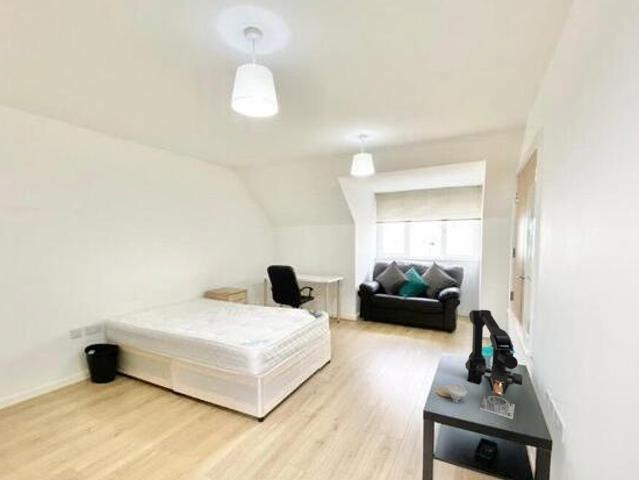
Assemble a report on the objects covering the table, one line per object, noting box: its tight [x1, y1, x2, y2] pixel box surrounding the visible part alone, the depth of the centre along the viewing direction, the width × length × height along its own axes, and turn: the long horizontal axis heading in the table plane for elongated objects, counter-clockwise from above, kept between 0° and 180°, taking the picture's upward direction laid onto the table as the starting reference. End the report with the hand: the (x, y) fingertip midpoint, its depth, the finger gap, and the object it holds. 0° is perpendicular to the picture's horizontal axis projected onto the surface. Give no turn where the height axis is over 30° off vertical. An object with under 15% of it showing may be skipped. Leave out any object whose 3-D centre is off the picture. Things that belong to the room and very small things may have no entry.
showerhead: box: [445, 383, 468, 403], centre depth 155 cm, size 9×7×10 cm
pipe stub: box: [492, 380, 505, 398], centre depth 150 cm, size 4×4×6 cm
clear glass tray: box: [479, 395, 516, 420], centre depth 151 cm, size 13×13×3 cm
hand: (498, 392), depth 150 cm, fingers closed on pipe stub, 4 cm apart
